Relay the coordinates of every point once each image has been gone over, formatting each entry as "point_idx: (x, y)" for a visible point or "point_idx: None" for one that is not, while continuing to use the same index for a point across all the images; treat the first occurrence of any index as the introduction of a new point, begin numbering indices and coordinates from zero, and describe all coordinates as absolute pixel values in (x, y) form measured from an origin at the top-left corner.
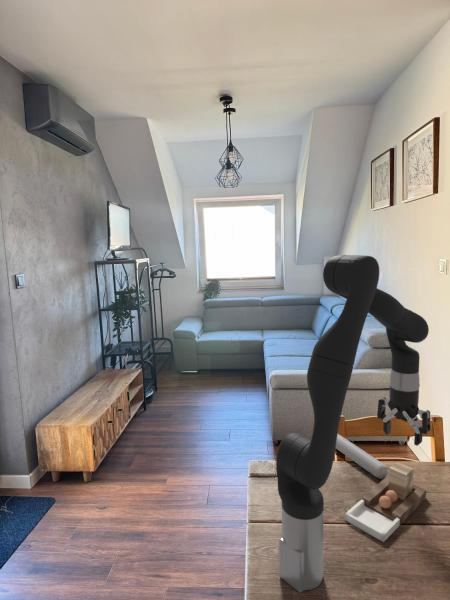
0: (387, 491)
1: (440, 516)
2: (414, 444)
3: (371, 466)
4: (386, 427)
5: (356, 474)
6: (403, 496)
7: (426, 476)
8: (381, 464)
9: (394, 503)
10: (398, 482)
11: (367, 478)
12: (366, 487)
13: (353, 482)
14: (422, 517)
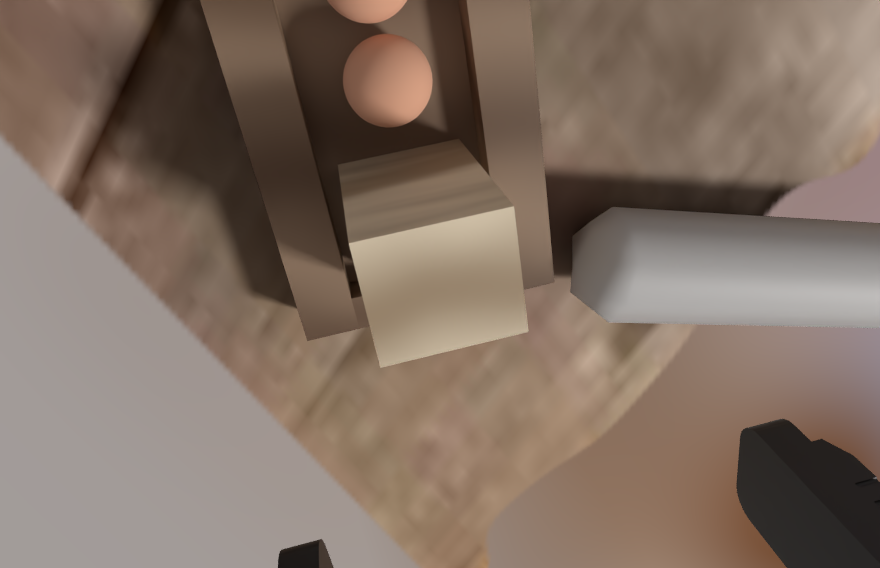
0: (420, 71)
1: (138, 246)
2: (315, 543)
3: (678, 233)
4: (850, 512)
5: (718, 139)
6: (350, 169)
7: (437, 461)
8: (635, 290)
9: None
10: (403, 190)
11: (645, 167)
12: (597, 79)
13: (687, 45)
14: (180, 140)
